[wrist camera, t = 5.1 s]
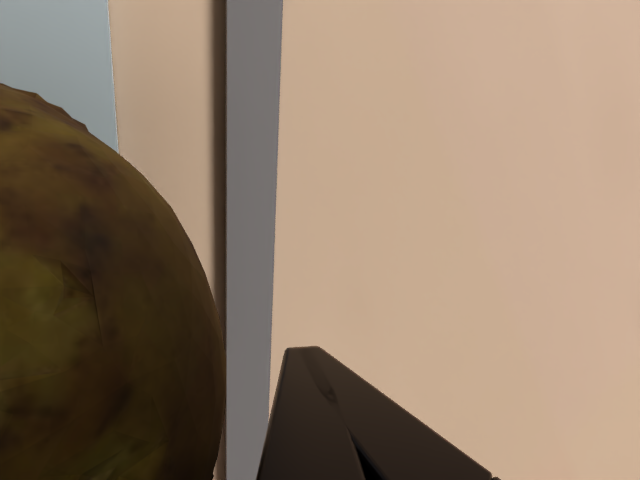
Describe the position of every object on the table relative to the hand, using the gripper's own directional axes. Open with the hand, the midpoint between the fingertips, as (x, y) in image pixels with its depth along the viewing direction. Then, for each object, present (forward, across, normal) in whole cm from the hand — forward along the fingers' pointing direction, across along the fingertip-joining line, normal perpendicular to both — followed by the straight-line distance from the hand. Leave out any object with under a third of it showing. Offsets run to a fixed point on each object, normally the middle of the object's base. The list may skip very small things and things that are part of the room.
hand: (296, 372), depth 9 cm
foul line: (+4, 0, 0) cm, 5 cm away
